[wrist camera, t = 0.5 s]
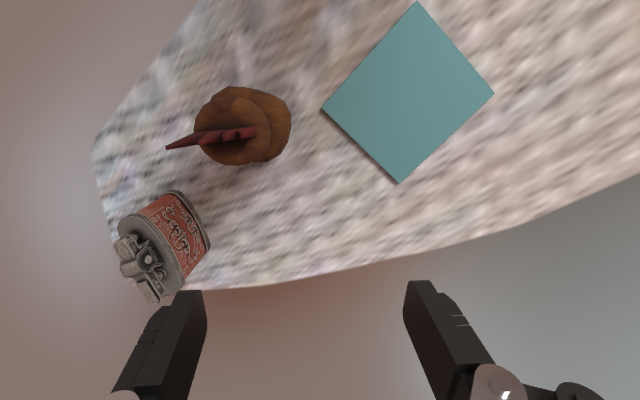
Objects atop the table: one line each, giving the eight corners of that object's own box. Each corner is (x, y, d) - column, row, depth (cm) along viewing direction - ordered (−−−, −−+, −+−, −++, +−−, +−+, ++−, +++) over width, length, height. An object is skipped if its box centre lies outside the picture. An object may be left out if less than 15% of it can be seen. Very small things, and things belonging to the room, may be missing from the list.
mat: (415, 1, 26) (417, 0, 26) (492, 93, 28) (495, 93, 28) (321, 107, 29) (321, 107, 29) (398, 182, 31) (399, 183, 31)
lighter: (154, 195, 32) (85, 237, 23) (183, 185, 32) (123, 223, 22) (190, 258, 35) (140, 319, 25) (216, 249, 34) (176, 308, 25)
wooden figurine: (221, 140, 30) (131, 180, 16) (231, 81, 28) (139, 65, 14) (287, 158, 31) (257, 211, 16) (300, 100, 29) (280, 105, 15)
